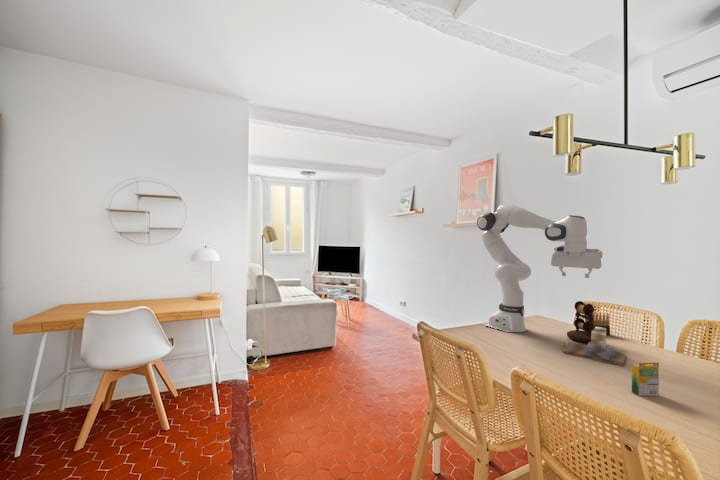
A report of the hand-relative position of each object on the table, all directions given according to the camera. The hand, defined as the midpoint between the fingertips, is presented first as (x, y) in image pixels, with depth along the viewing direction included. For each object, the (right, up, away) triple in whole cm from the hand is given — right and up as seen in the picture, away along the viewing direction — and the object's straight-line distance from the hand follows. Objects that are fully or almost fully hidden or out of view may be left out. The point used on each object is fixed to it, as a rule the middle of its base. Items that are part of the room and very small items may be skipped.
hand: (575, 276), depth 153 cm
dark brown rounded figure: (+13, -35, +13) cm, 40 cm away
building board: (+4, -35, -7) cm, 36 cm away
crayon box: (-6, -36, -44) cm, 57 cm away
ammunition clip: (+29, -35, +23) cm, 51 cm away
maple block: (+3, -30, -11) cm, 32 cm away
